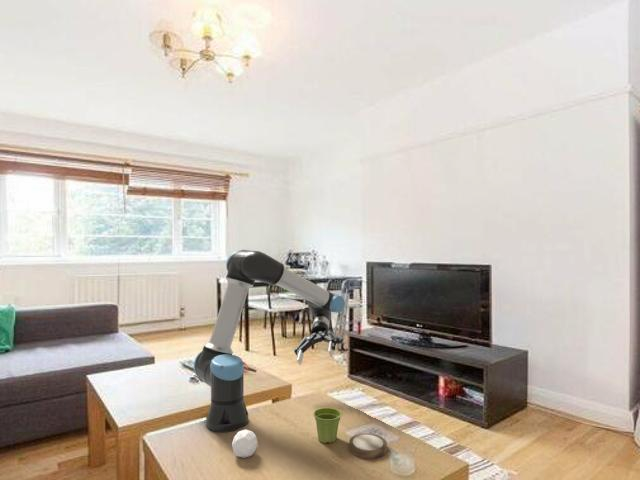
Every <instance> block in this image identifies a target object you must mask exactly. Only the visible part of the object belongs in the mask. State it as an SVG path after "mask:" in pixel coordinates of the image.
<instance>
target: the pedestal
mask: <svg viewBox="0 0 640 480" xmlns="http://www.w3.org/2000/svg"><path fill="white" fill-rule="evenodd" d="M348 450H349V452H350V453H351V454H352V455H354V456H356V457H358V458H361V459H364V460H365V459H366V460H375V459H380V458H381V457H384V456H385V455H386V454H387V452H388V443H387V440H386V439H385V438H383V437H382V436H381V435H377V434H374V433H365V432H364V433H358V434H355V435H352V437H350V439H349V442H348Z"/></svg>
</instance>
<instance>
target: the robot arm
mask: <svg viewBox="0 0 640 480" xmlns="http://www.w3.org/2000/svg"><path fill="white" fill-rule="evenodd" d="M225 266H226V270H227V274H226V277H225V280H226V281H227V287H226V290H225V293H224V296H223V299H222V302H221V305H220V307H219V311H218V314H217V318H216V321H215V324H214V327H213V330H212V333H211V334H210V335H211V336H210V339H209V341H208V342H207V343H205V344H203V347H202V351H200V352H199V353H198V354H197V355H196V357H195V358H194V361H193V371H194V374H195V375H196V377H197V378H198V379H199V380H200V381H201V382H203V383H204V384H206V385H207V386H209V387H210V405H209V409H208V411H207V412H208V413H207V415H206V418H205V427H206V428H207V429H208V430H210V431H214V432H217V433H228V432H234V431H237V430H239V429H242V428H244V427H246V426H247V424H248V423H249V413H248V410H247V406H246V404H245V400H244V398H245V397H244V396H245V395H244V393H245V392H244V387H245V385H244V384H245V383H244V382H245V381H244V379H245V378H244V376H245V375H244V373H245V366H244V361H243V359H242V358H241V357H240V356H238V355H236V354H234V352H233V350H232V348H231V346H232V344H233V341H234V337H235V334H236V331H237V328H238V324H239V321H240V318H241V316H242V311H243V308H244V307H245V306H244V305H245V302H246V299H247V296H248V292H249V289H251V288H252V287H254V285H255V283H256V282H257V281H258V282H262V283H266V284H268V285H270V286H278V287H280V288H282V289H284V290H285V291H288V292H290V293H292V294H294V295H296V296H299V297H300V298H302V299H304V300H305V301H306V303H307V305H308V307H309V310H310V311H311V313H312V316H313V321H312V327H311V330H310V335H309V336H307V335H305V336H303V338H302V339H301V341H300V342H299V343H298V344H297V346H296V347H295V348H294V349H293V351H294V354H295V356H296V361H297V362H298V365H299V366H301V365H302V363H303V359H304V353H305V352H307V350H308V349H310V348H311V347H312V346H314V345H315V344H317V343H321V342H325V343H328V348H327V349H328V350H327V351H328V355H329V357H333V355H334V354H333V353H334V350H336V346H337V344H338V345H339V344H341V341H340V338H339V337H338V335H337V334H336V333H335V331H334V329H333V328H330V324H331V318H332V313H341V312H342V311H343V310H344V308H345V305H346V300H345V298H344V296H342V295H340V294H335V293H332V292H331V291H328V290H327V289H326V288H323V287H321V286H319V285H317V284H316V283H313V282H312V281H311V280H309V279H306V278H304V277H303V276H301V275H299V274H298V273H296V272H293V271H292V270H290V269H288V268H286V266H285V265H284V264H283V263H282V262H280V261H278V260H277V259H275V258H273V257H271V256H270V255H268V254H266V253H264V252H262V251H260V250H249V249H240V250H236V251H234V252H232V253H231V254H230V255H229V256H228V257H227V260H226V265H225Z"/></svg>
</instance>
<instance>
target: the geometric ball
mask: <svg viewBox="0 0 640 480" xmlns="http://www.w3.org/2000/svg"><path fill="white" fill-rule="evenodd" d="M258 443H259V442H258V438H257V435H256V434H255V433H254V432H253V431H252V430H249V429H243V430H240V431H238V432H237V433H236V434H235V435H234V436H233V440H232V443H231V447H232V451H233V453H234V454H235V455H236V456H237V457H240V458H243V459H246V458H249V457H251V456H253V454H254V453H255V452H256V450H257V448H258Z"/></svg>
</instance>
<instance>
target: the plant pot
mask: <svg viewBox="0 0 640 480" xmlns="http://www.w3.org/2000/svg"><path fill="white" fill-rule="evenodd" d="M342 415H343V414H342V412H341V411H340V410H339V409H337V408H334V407H320V408H317V409H315V410H314V411H313V417H314V420H315V423H316V432H317V439H318V441H319V442H321V443H323V444H327V443H329V444H332V443H335V441H337V438H338V436H337V435H338V429H339V423H340V419H341V417H342Z"/></svg>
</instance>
